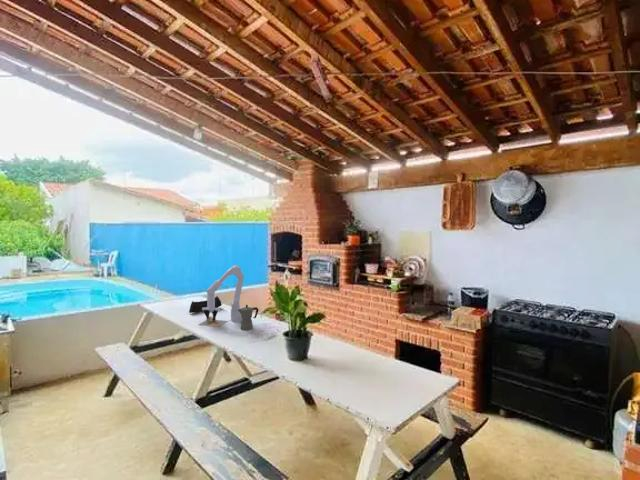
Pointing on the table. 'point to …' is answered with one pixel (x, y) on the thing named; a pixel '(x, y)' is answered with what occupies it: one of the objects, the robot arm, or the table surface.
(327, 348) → the table surface
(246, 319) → the coffeepot
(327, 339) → the table surface
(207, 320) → the card box
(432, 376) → the table surface
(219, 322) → the mat
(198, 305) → the black tray
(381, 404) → the table surface
